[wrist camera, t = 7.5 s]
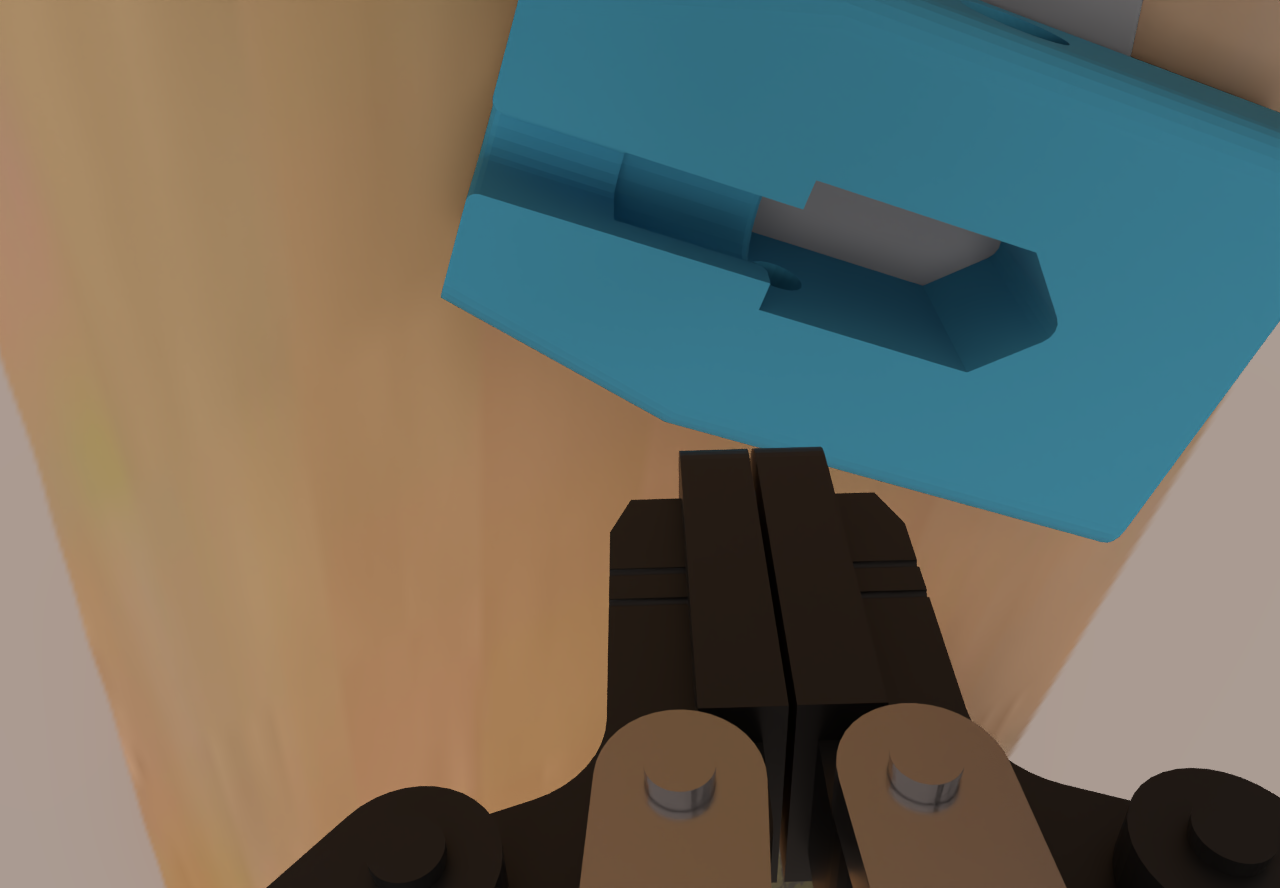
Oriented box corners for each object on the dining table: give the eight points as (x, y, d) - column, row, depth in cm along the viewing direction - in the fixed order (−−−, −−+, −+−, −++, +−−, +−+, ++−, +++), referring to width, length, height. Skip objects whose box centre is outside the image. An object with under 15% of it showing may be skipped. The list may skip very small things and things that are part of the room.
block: (446, 282, 32) (1049, 457, 36) (421, 369, 28) (1105, 556, 32) (563, -161, 26) (1280, 107, 30) (553, -133, 22) (1386, 175, 26)
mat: (504, -347, 24) (502, -347, 24) (1212, -370, 24) (1222, -371, 24) (556, 307, 33) (555, 315, 33) (1072, 290, 33) (1078, 298, 33)
